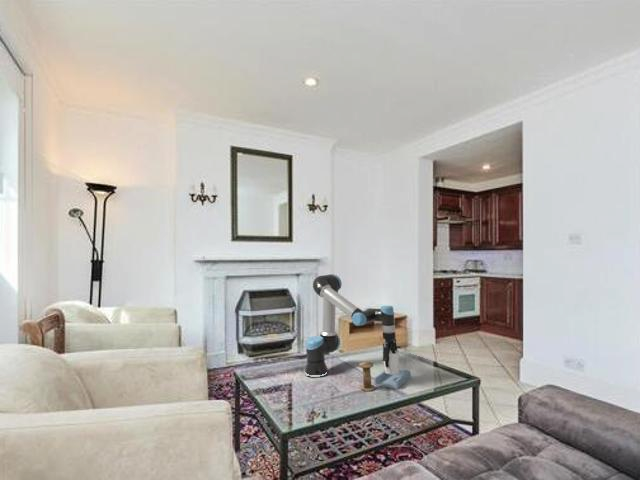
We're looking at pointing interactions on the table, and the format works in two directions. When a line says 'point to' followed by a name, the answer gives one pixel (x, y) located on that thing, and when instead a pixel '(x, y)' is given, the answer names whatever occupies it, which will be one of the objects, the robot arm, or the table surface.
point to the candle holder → (393, 363)
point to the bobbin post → (367, 376)
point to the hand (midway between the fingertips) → (391, 369)
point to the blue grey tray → (392, 379)
